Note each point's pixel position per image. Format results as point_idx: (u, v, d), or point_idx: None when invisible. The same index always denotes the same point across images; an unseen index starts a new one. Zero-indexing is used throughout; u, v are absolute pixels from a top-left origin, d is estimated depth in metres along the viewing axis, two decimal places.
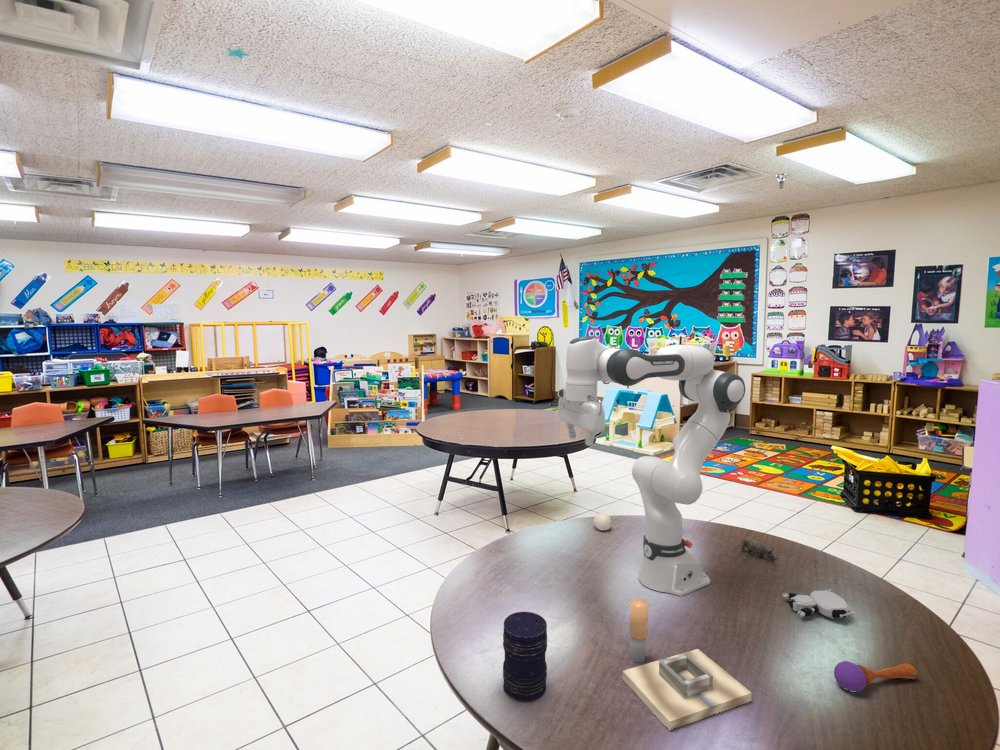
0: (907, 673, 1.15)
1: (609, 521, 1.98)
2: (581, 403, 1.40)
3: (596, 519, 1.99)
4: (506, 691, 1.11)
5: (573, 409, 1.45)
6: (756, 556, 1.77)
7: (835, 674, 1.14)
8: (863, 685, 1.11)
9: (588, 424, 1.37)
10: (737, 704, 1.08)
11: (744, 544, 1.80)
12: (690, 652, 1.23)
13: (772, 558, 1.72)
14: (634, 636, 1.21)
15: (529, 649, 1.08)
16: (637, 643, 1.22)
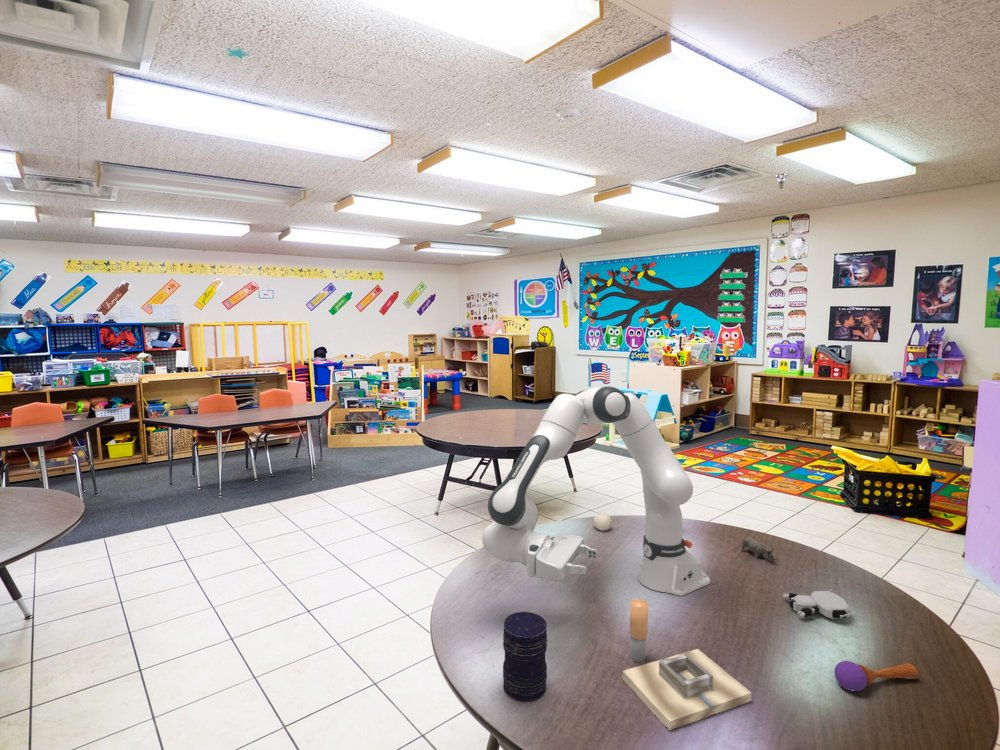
0: (908, 673, 1.15)
1: (609, 521, 1.98)
2: None
3: (596, 519, 1.99)
4: (506, 691, 1.11)
5: (554, 551, 1.29)
6: (756, 556, 1.76)
7: (835, 674, 1.14)
8: (863, 685, 1.11)
9: (575, 539, 1.36)
10: (737, 704, 1.08)
11: (744, 544, 1.80)
12: (690, 652, 1.23)
13: (772, 558, 1.72)
14: (634, 636, 1.21)
15: (529, 649, 1.08)
16: (637, 643, 1.22)
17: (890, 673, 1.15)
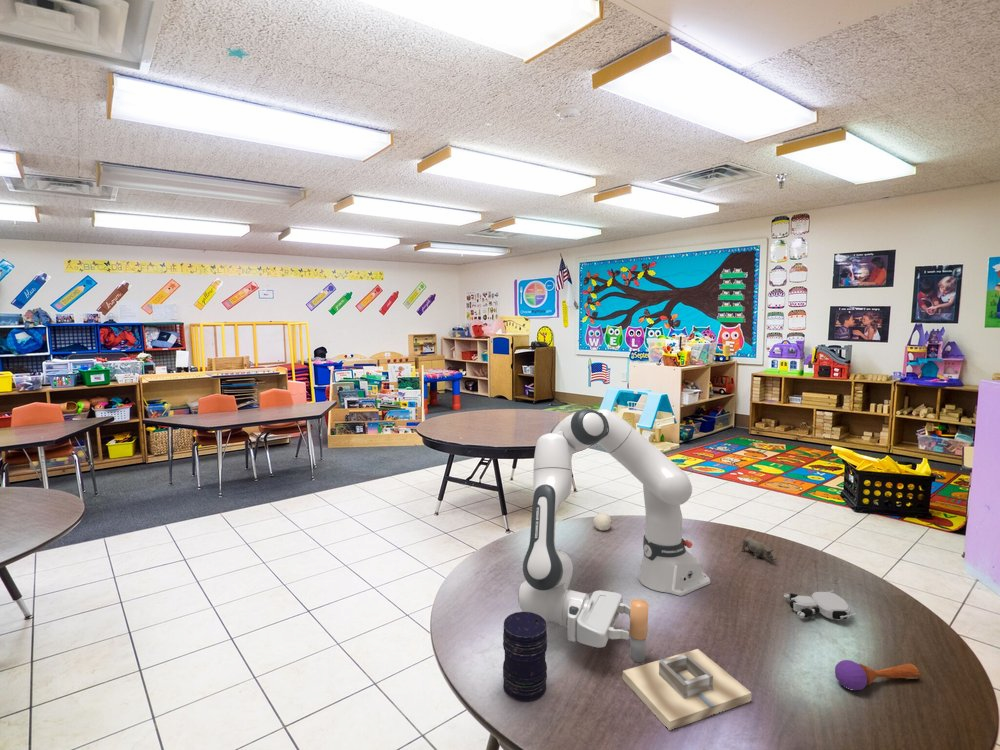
0: (909, 673, 1.15)
1: (609, 521, 1.98)
2: (590, 600, 1.31)
3: (596, 519, 1.99)
4: (506, 691, 1.11)
5: (594, 612, 1.26)
6: (756, 556, 1.76)
7: (836, 673, 1.14)
8: (864, 684, 1.11)
9: (614, 597, 1.32)
10: (737, 704, 1.08)
11: (744, 544, 1.80)
12: (690, 652, 1.23)
13: (771, 558, 1.72)
14: (634, 636, 1.21)
15: (529, 649, 1.08)
16: (637, 643, 1.22)
17: (891, 673, 1.15)
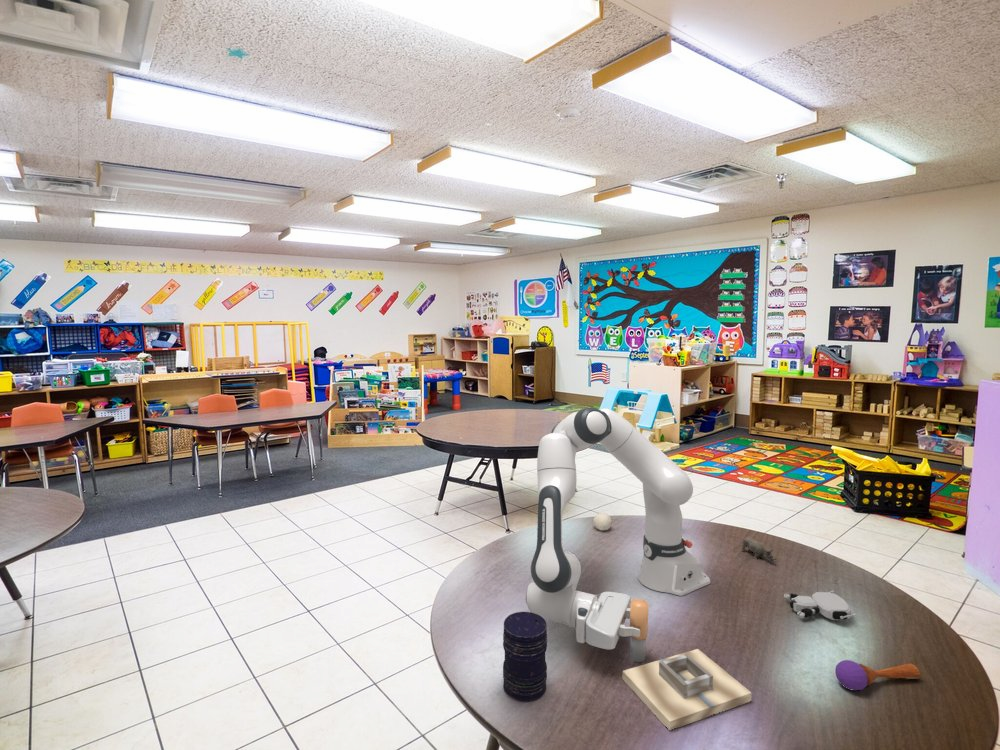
0: (909, 673, 1.15)
1: (609, 521, 1.98)
2: None
3: (596, 519, 1.99)
4: (506, 691, 1.11)
5: (603, 613, 1.25)
6: (756, 556, 1.76)
7: (836, 673, 1.14)
8: (864, 684, 1.11)
9: (622, 598, 1.32)
10: (737, 704, 1.08)
11: (744, 544, 1.80)
12: (690, 652, 1.23)
13: (771, 559, 1.72)
14: (634, 636, 1.22)
15: (529, 649, 1.08)
16: (637, 643, 1.22)
17: (891, 673, 1.15)
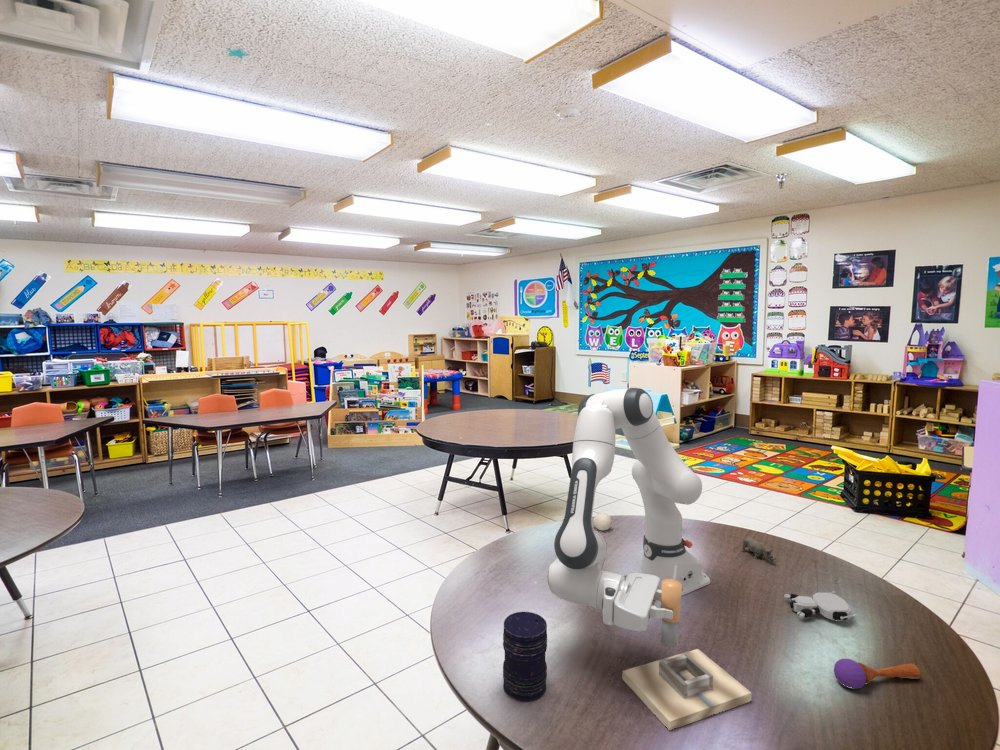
0: (909, 672, 1.15)
1: (609, 521, 1.98)
2: (626, 582, 1.21)
3: (596, 519, 1.99)
4: (506, 691, 1.11)
5: (632, 594, 1.16)
6: (755, 556, 1.76)
7: (835, 671, 1.15)
8: (862, 682, 1.11)
9: (651, 579, 1.22)
10: (737, 704, 1.08)
11: (744, 544, 1.80)
12: (690, 652, 1.23)
13: (771, 559, 1.72)
14: (666, 619, 1.12)
15: (529, 649, 1.08)
16: (669, 626, 1.12)
17: (891, 672, 1.15)
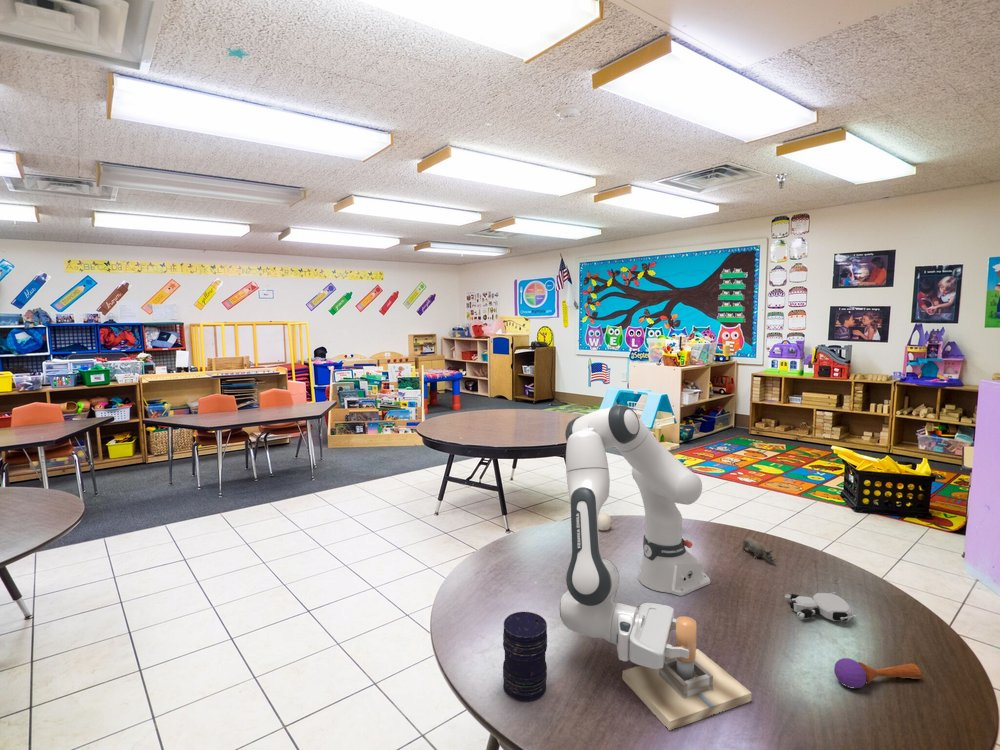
0: (910, 672, 1.15)
1: (609, 521, 1.98)
2: (640, 614, 1.19)
3: None
4: (506, 691, 1.11)
5: (647, 628, 1.14)
6: (755, 556, 1.76)
7: (835, 670, 1.15)
8: (862, 682, 1.12)
9: (665, 610, 1.20)
10: (737, 704, 1.08)
11: (744, 544, 1.80)
12: None
13: (770, 559, 1.71)
14: (681, 658, 1.10)
15: (529, 649, 1.08)
16: (685, 666, 1.10)
17: (892, 672, 1.15)
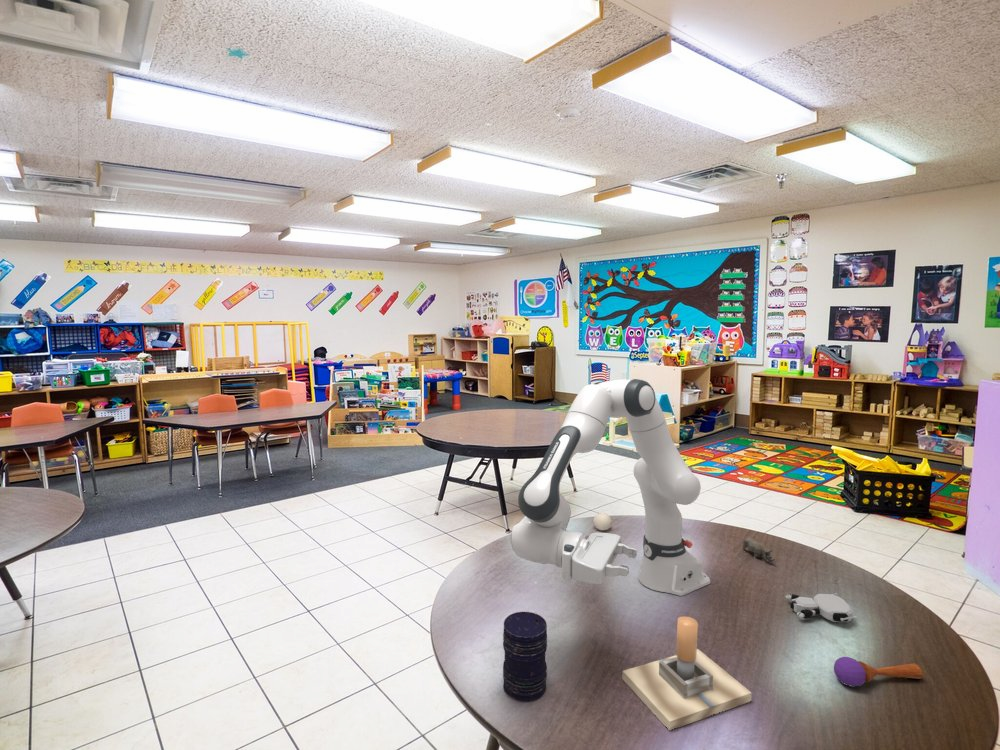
0: (911, 672, 1.15)
1: (609, 521, 1.98)
2: None
3: (596, 519, 1.99)
4: (506, 691, 1.11)
5: (591, 551, 1.18)
6: (755, 557, 1.76)
7: (834, 668, 1.16)
8: (862, 680, 1.12)
9: (612, 537, 1.24)
10: (737, 704, 1.08)
11: (744, 544, 1.80)
12: None
13: (769, 559, 1.71)
14: (682, 658, 1.10)
15: (529, 649, 1.08)
16: (685, 666, 1.10)
17: (892, 671, 1.15)
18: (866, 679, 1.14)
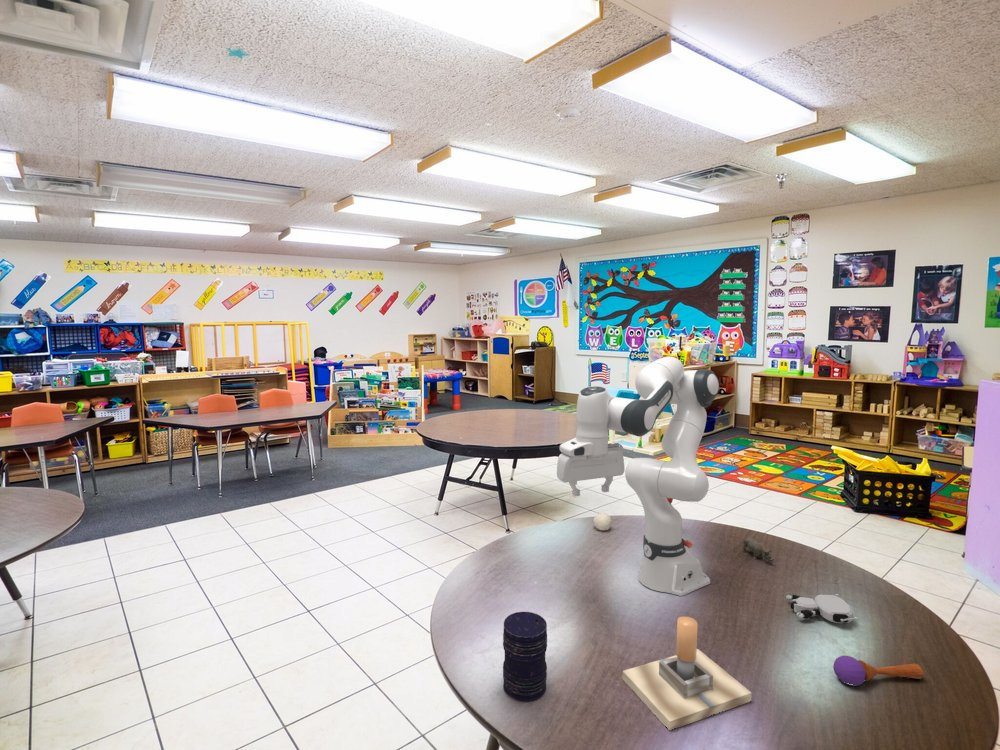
0: (912, 672, 1.15)
1: (609, 521, 1.98)
2: (604, 453, 1.40)
3: (596, 519, 1.99)
4: (506, 691, 1.11)
5: (589, 463, 1.39)
6: (754, 556, 1.76)
7: (834, 667, 1.16)
8: (861, 679, 1.12)
9: (616, 470, 1.42)
10: (737, 704, 1.08)
11: (744, 544, 1.80)
12: None
13: (769, 559, 1.71)
14: (682, 658, 1.10)
15: (529, 649, 1.08)
16: (685, 666, 1.10)
17: (893, 671, 1.15)
18: (866, 678, 1.14)
